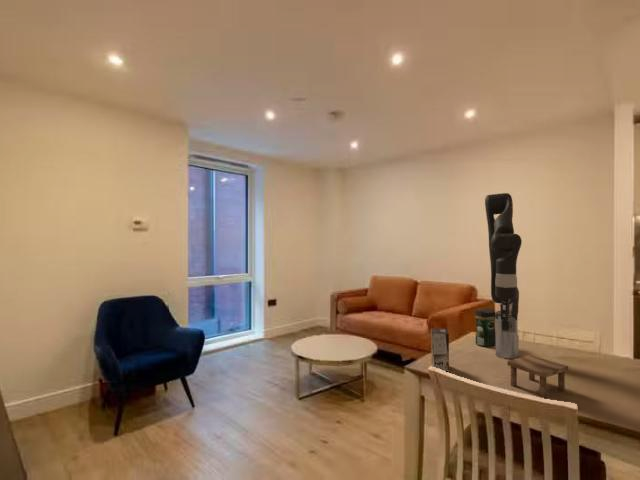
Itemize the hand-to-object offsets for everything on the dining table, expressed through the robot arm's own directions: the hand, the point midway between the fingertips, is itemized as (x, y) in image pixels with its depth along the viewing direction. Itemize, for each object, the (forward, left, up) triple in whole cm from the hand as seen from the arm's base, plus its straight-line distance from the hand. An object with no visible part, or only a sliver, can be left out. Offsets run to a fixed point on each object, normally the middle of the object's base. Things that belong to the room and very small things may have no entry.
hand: (506, 328), depth 141 cm
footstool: (-3, +10, -20) cm, 23 cm away
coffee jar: (-31, -34, -21) cm, 51 cm away
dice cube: (0, 0, -1) cm, 1 cm away
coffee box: (+13, -22, -21) cm, 33 cm away
